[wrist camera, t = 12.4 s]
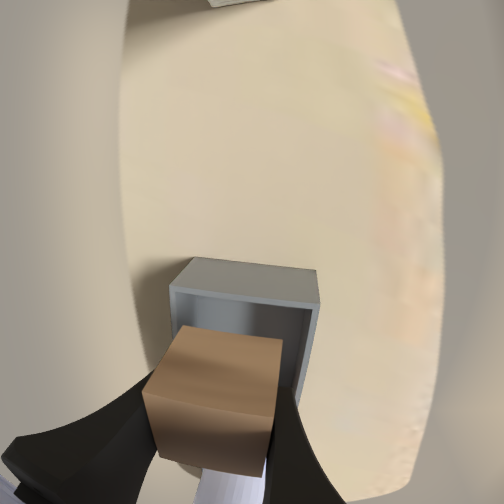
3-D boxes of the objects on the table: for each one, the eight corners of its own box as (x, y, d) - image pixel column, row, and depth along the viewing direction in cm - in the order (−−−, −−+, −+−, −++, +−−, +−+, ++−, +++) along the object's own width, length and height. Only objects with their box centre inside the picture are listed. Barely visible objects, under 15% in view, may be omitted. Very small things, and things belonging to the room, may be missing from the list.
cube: (272, 407, 13) (261, 478, 9) (188, 393, 13) (159, 457, 9) (282, 339, 11) (274, 417, 8) (182, 325, 12) (141, 391, 8)
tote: (292, 397, 20) (289, 439, 17) (198, 384, 21) (182, 422, 17) (316, 270, 17) (320, 304, 13) (194, 256, 18) (168, 285, 14)
